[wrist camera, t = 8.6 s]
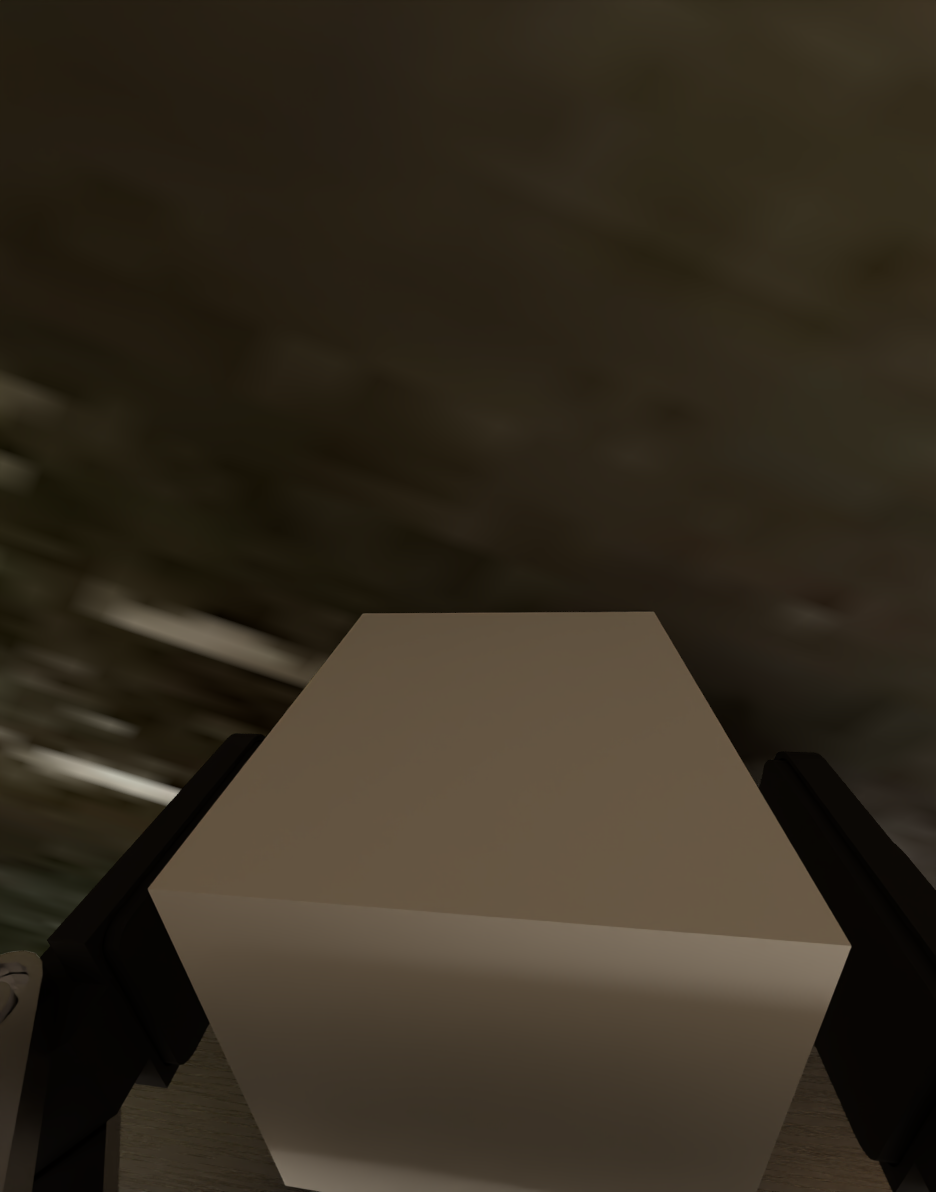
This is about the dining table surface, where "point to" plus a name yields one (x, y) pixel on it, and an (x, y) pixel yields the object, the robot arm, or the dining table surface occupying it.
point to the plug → (505, 919)
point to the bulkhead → (255, 1188)
